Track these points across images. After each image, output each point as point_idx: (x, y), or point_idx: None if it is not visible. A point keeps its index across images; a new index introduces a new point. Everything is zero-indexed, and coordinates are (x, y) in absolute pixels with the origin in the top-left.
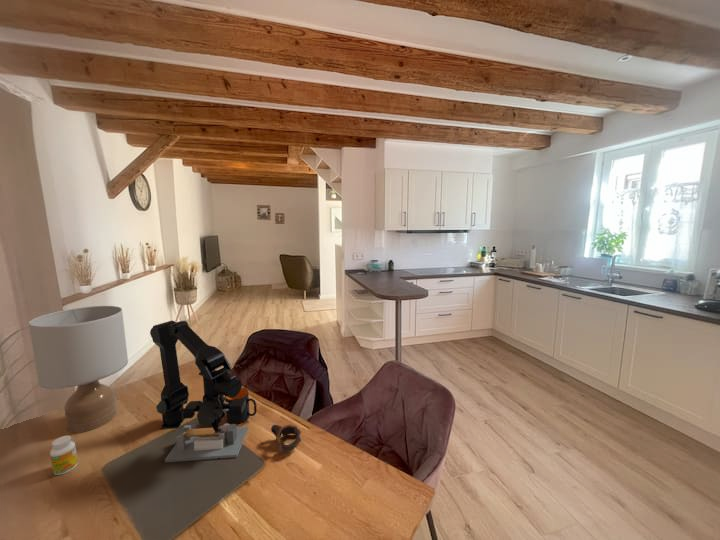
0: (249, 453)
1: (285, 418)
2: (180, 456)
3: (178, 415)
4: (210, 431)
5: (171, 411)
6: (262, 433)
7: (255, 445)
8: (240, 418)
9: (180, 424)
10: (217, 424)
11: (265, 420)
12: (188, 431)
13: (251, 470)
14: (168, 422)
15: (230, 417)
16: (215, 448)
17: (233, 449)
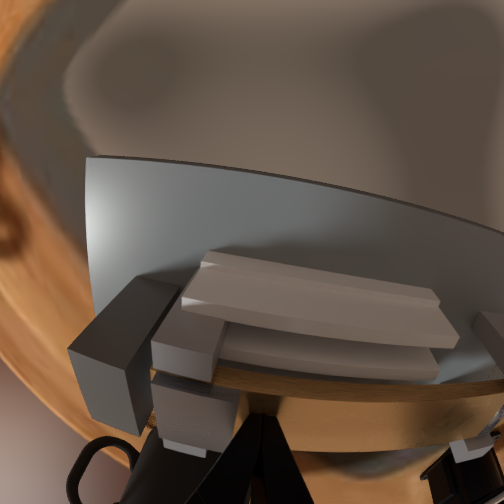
0: (45, 179)
1: (11, 364)
2: (499, 254)
3: (461, 483)
4: (323, 421)
5: (488, 494)
6: (41, 320)
7: (36, 240)
8: (162, 449)
9: (448, 450)
10: (219, 487)
11: (69, 392)
12: (478, 423)
13: (30, 54)
14: (486, 453)
15: None
16: (268, 264)
17: (119, 217)
